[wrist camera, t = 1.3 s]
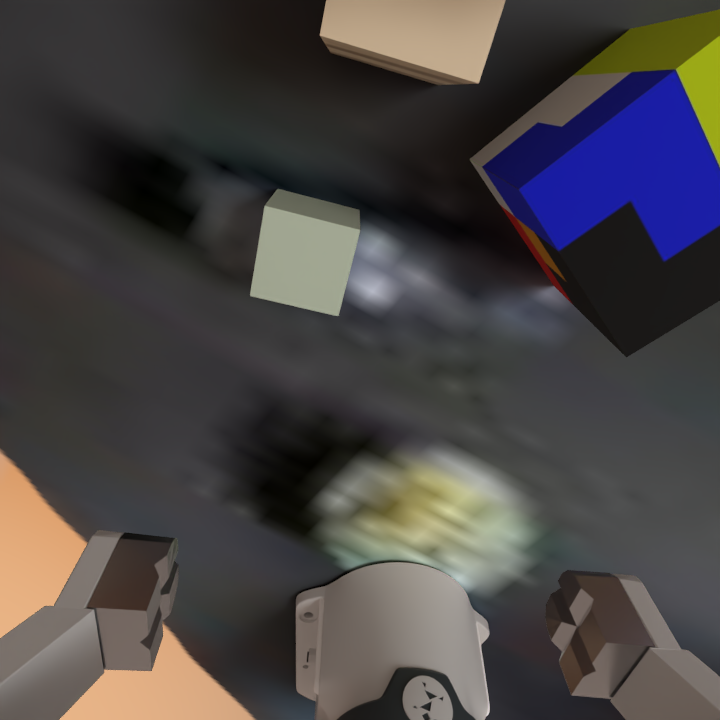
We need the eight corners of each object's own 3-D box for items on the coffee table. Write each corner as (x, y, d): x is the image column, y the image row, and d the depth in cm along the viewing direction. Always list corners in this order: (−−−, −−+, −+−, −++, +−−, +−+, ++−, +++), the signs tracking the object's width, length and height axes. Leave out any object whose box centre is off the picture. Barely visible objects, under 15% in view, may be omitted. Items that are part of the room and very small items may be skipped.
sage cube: (340, 285, 33) (338, 316, 28) (263, 267, 32) (249, 295, 28) (359, 209, 31) (360, 229, 26) (277, 188, 30) (264, 205, 26)
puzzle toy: (469, 159, 29) (518, 189, 21) (629, 29, 26) (766, -1, 18) (553, 285, 33) (626, 357, 24) (702, 184, 30) (846, 223, 21)
